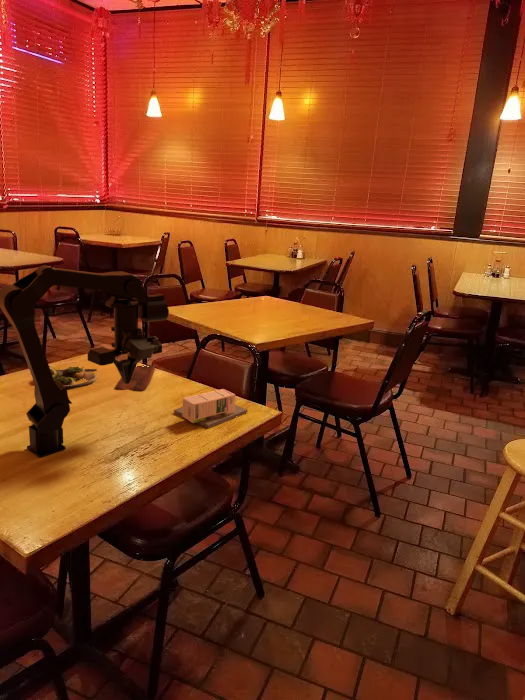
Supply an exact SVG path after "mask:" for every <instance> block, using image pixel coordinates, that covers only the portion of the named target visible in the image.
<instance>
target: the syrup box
mask: <svg viewBox="0 0 525 700" xmlns="http://www.w3.org/2000/svg"><path fill="white" fill-rule="evenodd" d="M235 405H236V394H235V393H233V392H231V391H229V390H226V389H225V388H221V389H217V390H213V391H209V392H204V393H199V394H194V395H190V396H185V397H182V407H183V413H182V416H183V417H182V416H181V417H182V418H184V419H185V420H187V421H189V422H190V423H191V424H195V423H196V424H198V423H197V422H201V421H205V420H208V419H212V418H216V417H220V416H224V415H228V414H232V413H234V411H235Z"/></svg>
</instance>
